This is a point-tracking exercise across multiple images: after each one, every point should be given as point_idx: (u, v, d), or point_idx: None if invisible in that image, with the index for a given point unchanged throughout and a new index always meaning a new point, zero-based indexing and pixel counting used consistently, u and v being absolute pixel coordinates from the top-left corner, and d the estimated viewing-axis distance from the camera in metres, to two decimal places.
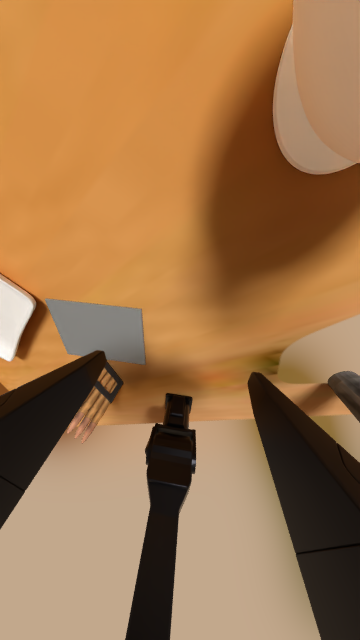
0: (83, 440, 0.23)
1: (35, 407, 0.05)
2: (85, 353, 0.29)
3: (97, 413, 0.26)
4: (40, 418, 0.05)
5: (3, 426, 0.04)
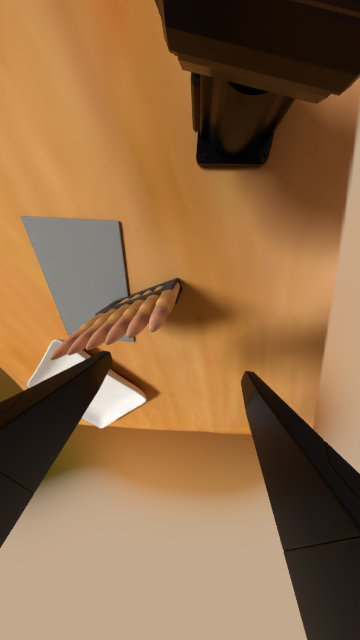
0: (150, 327, 0.09)
1: (44, 409, 0.05)
2: None
3: (155, 305, 0.12)
4: (49, 420, 0.05)
5: (14, 428, 0.04)
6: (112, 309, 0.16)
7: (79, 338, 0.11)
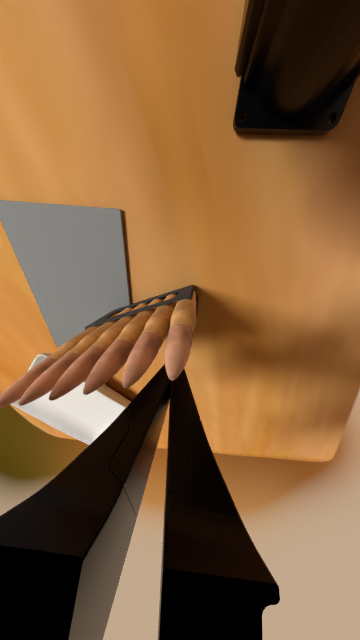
0: (168, 368, 0.05)
1: None
2: None
3: (170, 321, 0.08)
4: (151, 439, 0.05)
5: (140, 453, 0.04)
6: (107, 322, 0.12)
7: (47, 371, 0.07)
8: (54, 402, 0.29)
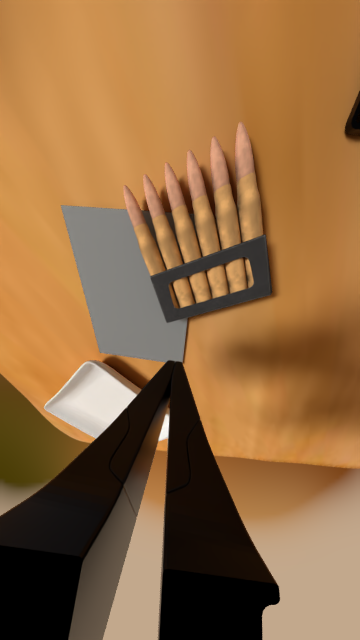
0: None
1: None
2: (178, 339, 0.18)
3: None
4: (151, 439, 0.05)
5: (140, 453, 0.04)
6: None
7: None
8: (87, 408, 0.28)
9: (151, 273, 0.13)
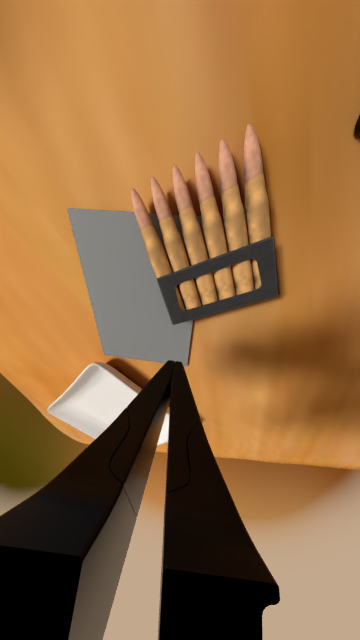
0: None
1: None
2: (183, 341, 0.18)
3: None
4: (151, 439, 0.05)
5: (140, 453, 0.04)
6: None
7: None
8: (90, 410, 0.28)
9: (158, 275, 0.13)
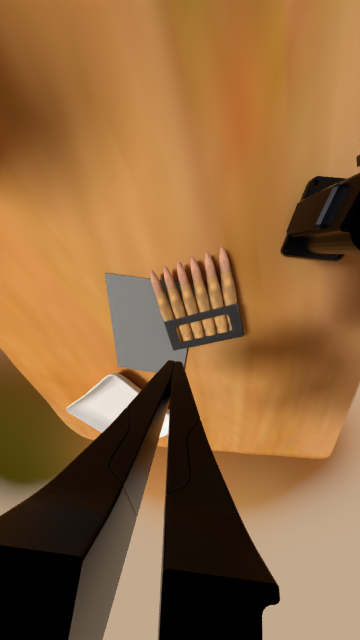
0: None
1: None
2: (180, 359, 0.24)
3: None
4: (151, 439, 0.05)
5: (140, 453, 0.04)
6: None
7: None
8: (101, 409, 0.34)
9: (164, 319, 0.19)
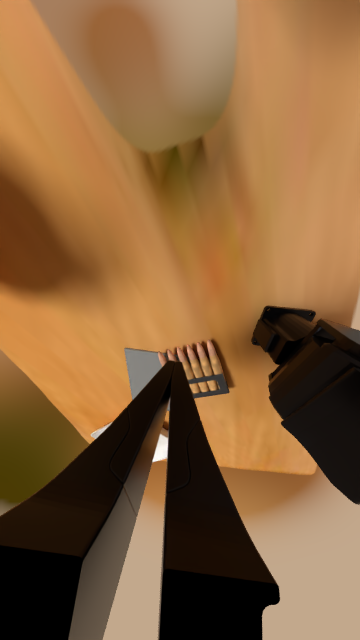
0: (208, 341, 0.22)
1: None
2: None
3: None
4: (151, 439, 0.05)
5: (140, 453, 0.04)
6: None
7: None
8: None
9: None
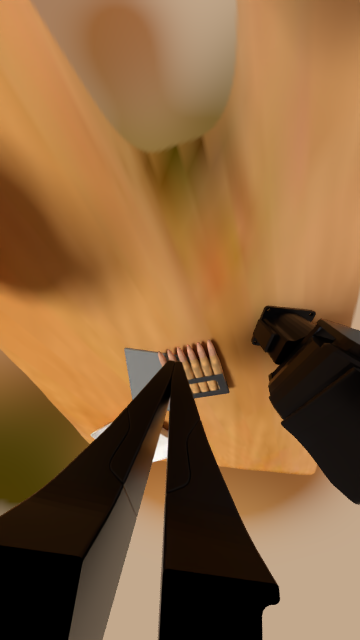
0: (208, 341, 0.22)
1: None
2: None
3: None
4: (151, 439, 0.05)
5: (140, 453, 0.04)
6: None
7: None
8: None
9: None
